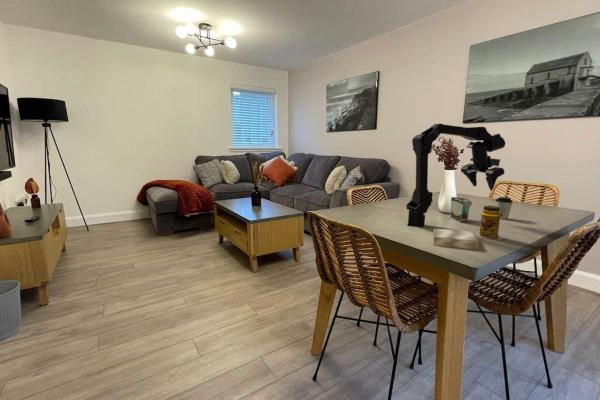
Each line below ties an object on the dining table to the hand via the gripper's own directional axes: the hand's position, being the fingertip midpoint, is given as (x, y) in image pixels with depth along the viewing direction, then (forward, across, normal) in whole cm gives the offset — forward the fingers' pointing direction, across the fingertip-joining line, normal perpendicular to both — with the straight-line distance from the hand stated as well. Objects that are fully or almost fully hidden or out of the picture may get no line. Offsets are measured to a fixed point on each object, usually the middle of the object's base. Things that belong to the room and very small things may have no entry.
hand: (483, 187), depth 135 cm
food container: (+14, +3, +10) cm, 18 cm away
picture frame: (+5, -23, +36) cm, 43 cm away
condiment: (+10, -20, +18) cm, 29 cm away
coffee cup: (+19, +1, -9) cm, 21 cm away
